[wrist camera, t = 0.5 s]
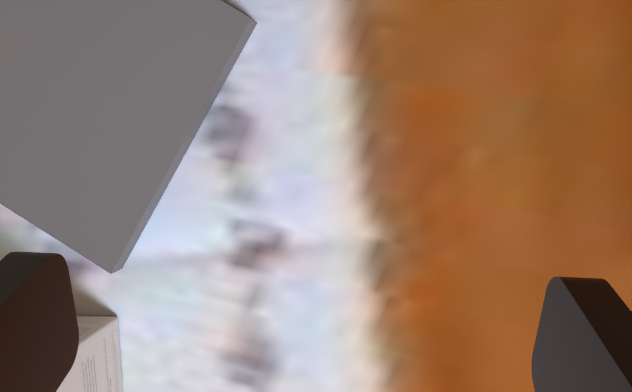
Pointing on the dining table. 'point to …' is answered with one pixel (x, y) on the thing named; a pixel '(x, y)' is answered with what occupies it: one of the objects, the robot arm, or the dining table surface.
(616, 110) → the dining table surface
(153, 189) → the slate board
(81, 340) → the supplement box
